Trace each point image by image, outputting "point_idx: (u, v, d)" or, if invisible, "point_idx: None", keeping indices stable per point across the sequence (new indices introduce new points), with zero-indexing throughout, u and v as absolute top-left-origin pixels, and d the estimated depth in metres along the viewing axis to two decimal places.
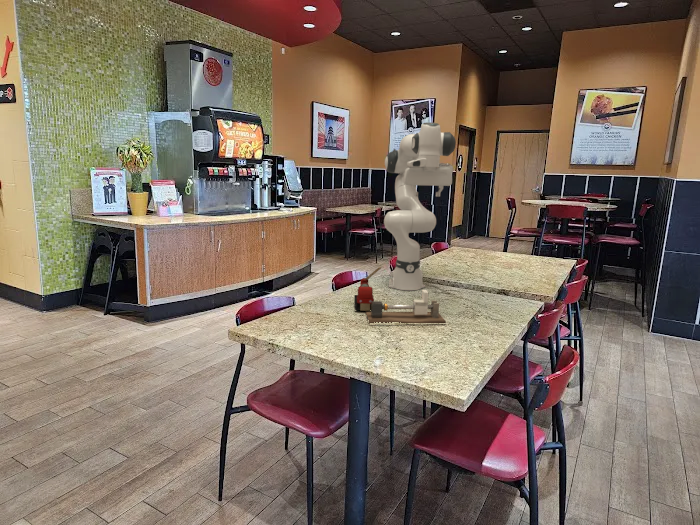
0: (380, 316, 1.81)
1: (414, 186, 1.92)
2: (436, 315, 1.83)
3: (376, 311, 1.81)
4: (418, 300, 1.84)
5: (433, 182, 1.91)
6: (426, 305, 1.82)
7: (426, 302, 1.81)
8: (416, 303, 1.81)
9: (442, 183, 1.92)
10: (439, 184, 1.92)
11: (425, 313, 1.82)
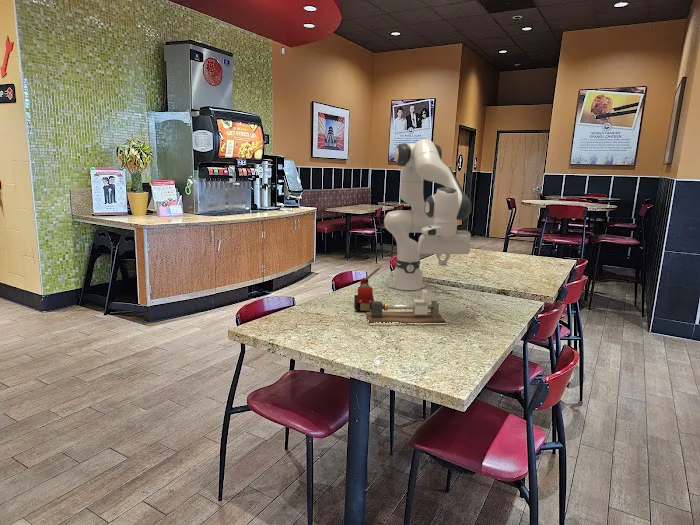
0: (380, 316, 1.81)
1: (439, 255, 1.79)
2: (436, 315, 1.83)
3: (376, 311, 1.81)
4: (418, 300, 1.84)
5: (449, 251, 1.78)
6: (426, 305, 1.82)
7: (426, 302, 1.81)
8: (416, 303, 1.81)
9: (459, 252, 1.78)
10: (456, 253, 1.78)
11: (425, 313, 1.82)
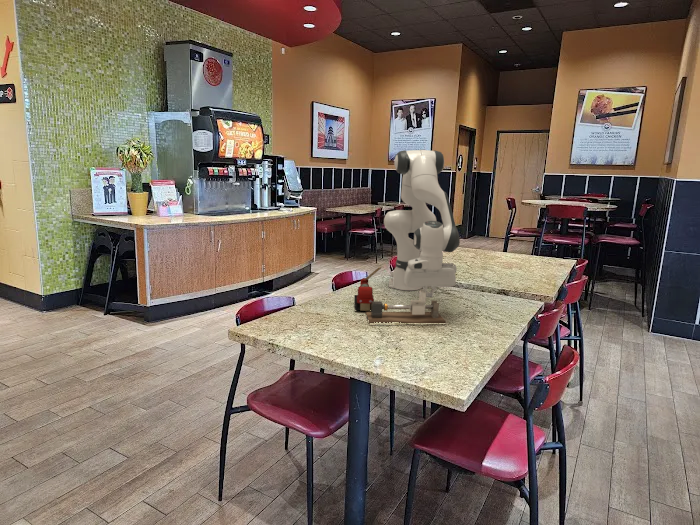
0: (380, 316, 1.81)
1: (425, 287, 1.81)
2: (436, 315, 1.83)
3: (376, 311, 1.81)
4: (415, 300, 1.84)
5: (435, 283, 1.80)
6: (423, 305, 1.82)
7: (423, 302, 1.81)
8: (413, 303, 1.81)
9: (445, 284, 1.81)
10: (442, 285, 1.81)
11: (422, 313, 1.82)
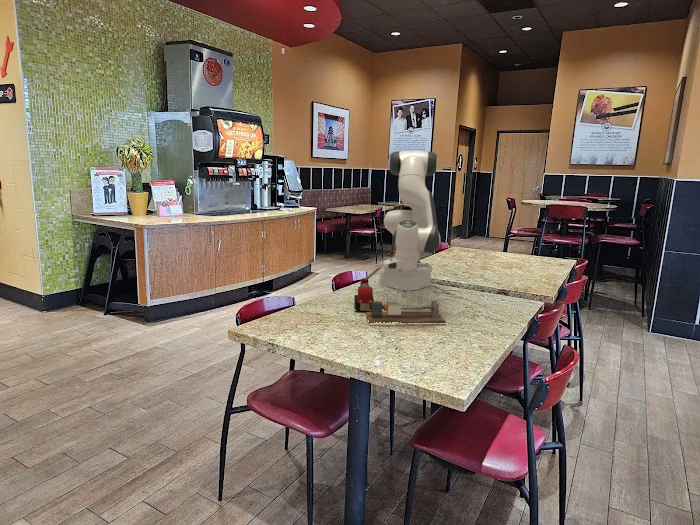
0: (380, 316, 1.81)
1: (401, 287, 1.80)
2: (436, 315, 1.83)
3: (376, 311, 1.81)
4: (391, 300, 1.83)
5: (410, 283, 1.79)
6: (399, 305, 1.81)
7: (399, 302, 1.81)
8: (389, 303, 1.80)
9: (420, 284, 1.80)
10: (417, 285, 1.80)
11: (398, 313, 1.81)
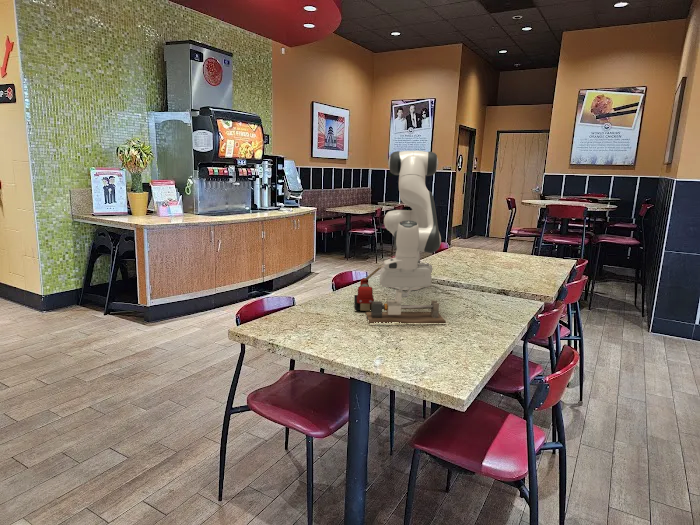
0: (380, 316, 1.81)
1: (401, 287, 1.80)
2: (436, 315, 1.83)
3: (376, 311, 1.81)
4: (392, 300, 1.83)
5: (411, 283, 1.79)
6: (399, 305, 1.81)
7: (399, 302, 1.81)
8: (389, 303, 1.80)
9: (421, 284, 1.80)
10: (418, 285, 1.80)
11: (398, 313, 1.81)
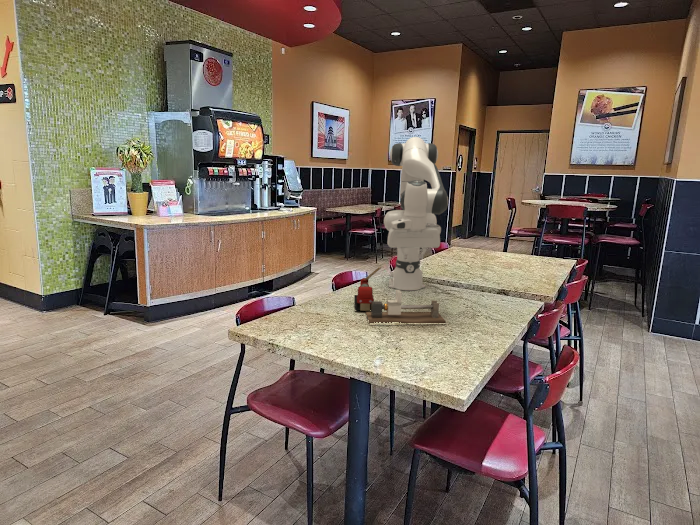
0: (380, 316, 1.81)
1: (403, 248, 1.77)
2: (436, 315, 1.83)
3: (376, 311, 1.81)
4: (392, 300, 1.83)
5: (419, 244, 1.76)
6: (399, 305, 1.81)
7: (399, 302, 1.81)
8: (389, 303, 1.80)
9: (429, 245, 1.77)
10: (426, 246, 1.77)
11: (398, 313, 1.81)
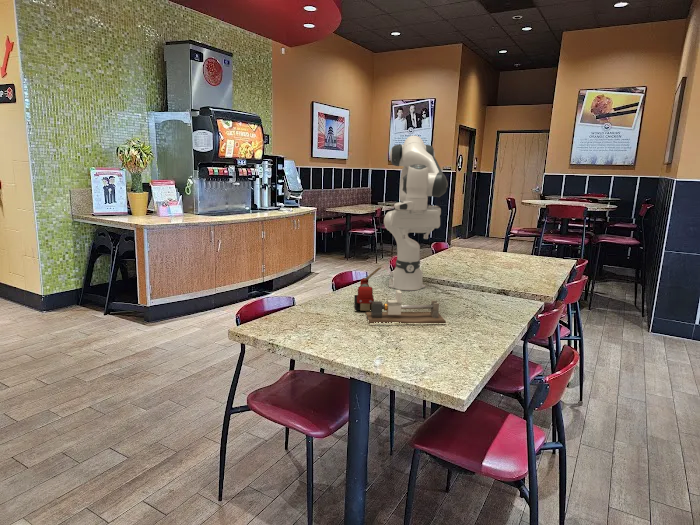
0: (380, 316, 1.81)
1: (401, 229, 1.88)
2: (436, 315, 1.83)
3: (376, 311, 1.81)
4: (392, 300, 1.83)
5: (420, 225, 1.87)
6: (399, 305, 1.81)
7: (399, 302, 1.81)
8: (389, 303, 1.80)
9: (430, 226, 1.88)
10: (427, 227, 1.88)
11: (398, 313, 1.81)
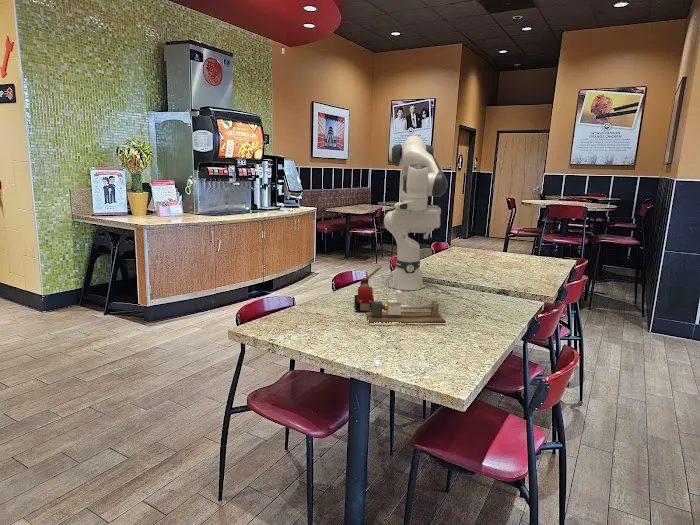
0: (380, 316, 1.81)
1: (401, 229, 1.88)
2: (436, 315, 1.83)
3: (376, 311, 1.81)
4: (392, 300, 1.83)
5: (420, 225, 1.87)
6: (399, 305, 1.81)
7: (399, 302, 1.81)
8: (389, 303, 1.80)
9: (430, 226, 1.88)
10: (427, 226, 1.88)
11: (398, 313, 1.81)
